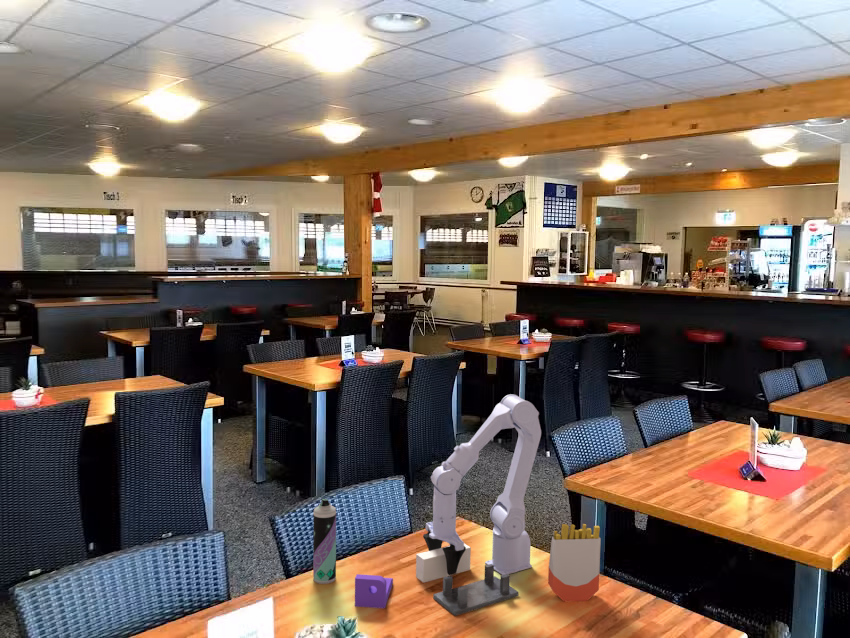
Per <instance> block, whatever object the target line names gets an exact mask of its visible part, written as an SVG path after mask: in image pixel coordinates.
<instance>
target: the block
mask: <svg viewBox="0 0 850 638" xmlns="http://www.w3.org/2000/svg"><path fill="white" fill-rule="evenodd" d="M464 546H465V547H466V550H465V552H464V553H463V555H462V557H461V559H460V561H459V564H458V568H457V571H456V574H459V573H463V572H464V573H465V572H468V571H471V551H472V550H471V546H469V545H468V544H466V543H464ZM445 547H450V545H447V546H443V547H441V548H439V549H435V550H431V551H429V550H427V551H424V552H419V553H416V554H415V557H416V558H415V559H416V560H415V577H416V578H417V579H418V580H419V581H420V582H422V583H423V584H424V583H427V582H432V581H435V580H438V579H441V578H442V579H443V577H446V576H450V575H448V573H447V563H446V557H445V554H444V551H443V548H445ZM452 575H453V576H454V574H452ZM452 575H451V576H452Z"/></svg>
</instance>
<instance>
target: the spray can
mask: <svg viewBox="0 0 850 638" xmlns="http://www.w3.org/2000/svg"><path fill="white" fill-rule="evenodd" d="M329 501H330V500H329V499H327V498H321V502H319V504H318V506H316V507H314V509H313V512H312V513H313V521H312V522H313V523H312V524H313V542H312V543H313V545H312V546H313V549H312V550H313V555H312V556H313V567H312V568H313V573H312V574H313V577H312V578H313V581H314V583H317V584H320V585H328V584H331V583H333V582H334V581H335V580H336V579H337V511H336V510H337V508H336V507H335V506H333V505H331V503H330V502H329Z"/></svg>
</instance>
